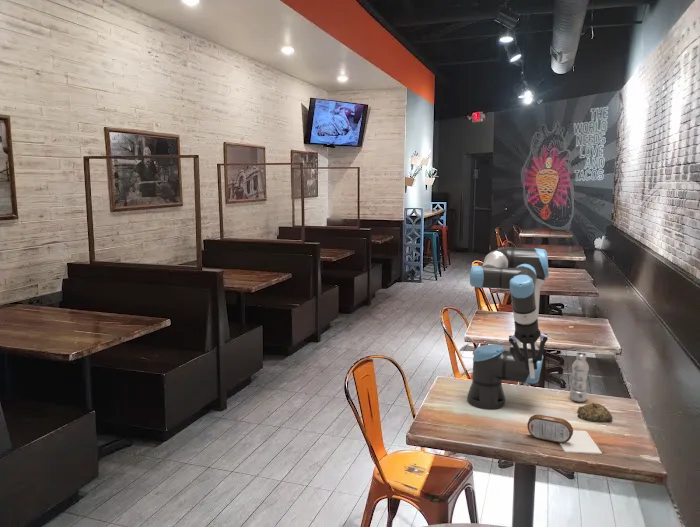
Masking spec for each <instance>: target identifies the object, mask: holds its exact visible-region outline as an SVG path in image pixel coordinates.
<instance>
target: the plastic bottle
mask: <svg viewBox="0 0 700 527" xmlns="http://www.w3.org/2000/svg"><path fill="white" fill-rule="evenodd" d="M575 358H576V359H575V360H574V362H573V363H572V365H571V366H572V367H571V368H572V369H571V370H572V382H571V388H570V391H569V396H570V399H571V400H572V401H575V402H577V403H578V402H579V403H582V402H585V401H587V400H586V399H587V397H588V394H587V393H588V392H587V380H588V378H587V377H588V374H589V369H590V367H589V364H588V361H587V354H586V353H584V352H577V353H576V357H575Z"/></svg>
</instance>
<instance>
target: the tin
mask: <svg viewBox="0 0 700 527" xmlns="http://www.w3.org/2000/svg"><path fill="white" fill-rule="evenodd" d="M526 426H527V427H526V428H527V430H528V432H529V434H530V435H531V436H532V437H534V438H536V439H537V440H543V441H547V442H554V443H559V444H560V443H566V442H568V441H569V440H570V439H571V437H572V435H573V430H574V429H573V426H572V424H571V423H570V422H569V421H568V420H567V419H564V418H561V417H555V416H550V415H544V414H533V415H531V416H530V417H529V419H528V422H527V425H526Z"/></svg>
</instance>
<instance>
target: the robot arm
mask: <svg viewBox="0 0 700 527" xmlns="http://www.w3.org/2000/svg"><path fill="white" fill-rule="evenodd" d="M548 259H549V258H548V252H547V251H546V249H544V248H536V247H534V248H533V247H515V246H514V247H511V246H506V247H500V248H497V249H495V250H492V251H490V252H489V253H487V254H486V255H485V257H484V259H483V264H482V266H481V265H472V266H471V268H470V272H469V285H470V286H471V287H472V288H478V289H481V288H483V289H484V288H485V289H500V290H508V291H509V292H510V299H511V305H512V306H511V307H512V316H513V320H514V334H513V335H509V336H508V342H509V344H511V345H510V346H509V350H505V349H504V347H503V346H502V345H498V344H483V345H480V346H478V347H476V348H475V349H474V351H473V358H472V381H471V382H472V383H471V385H470V386H469V390H468V392H467V398H466V401H467V403H468V404H470V405H471V406H473V407H475V408H478V409H484V410H497V409H501V408H503V407H505V405H506V395H505V392H504V388H503V381H510V382H516V383H521V384H522V383H523V384H533V385H534V384H536V383H538V382H539V380H540V375H541V370H542V366H543V362H544V361H543V360H544V355H543V354H544V349H545V346H546V343H547V341H548V338H549V337H548V334H547V333H542V332H541V330H540V329H539V328H540V327H539V312H540V311H539V310H540V297H541V296H540V295H541V294H540V293H541V287H542V285H543V284H544V283H545V281H546V279H547V278H549V276H550V274H549V260H548ZM538 339H540V342H539V347H538V346H537V342H538Z"/></svg>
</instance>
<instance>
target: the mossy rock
mask: <svg viewBox="0 0 700 527" xmlns="http://www.w3.org/2000/svg"><path fill="white" fill-rule="evenodd" d="M576 413H577V417H578V418H579V419H581V420H584V421H588V422H595V423H596V422H598V423H611V422H612V421H613V416H612V414H611V412H610V410H608V408H607V407H605V406H603V405H602V404H601V403H595V402H591V403H587V404H585V405H583V406H579V407H578V408H577V412H576Z"/></svg>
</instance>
